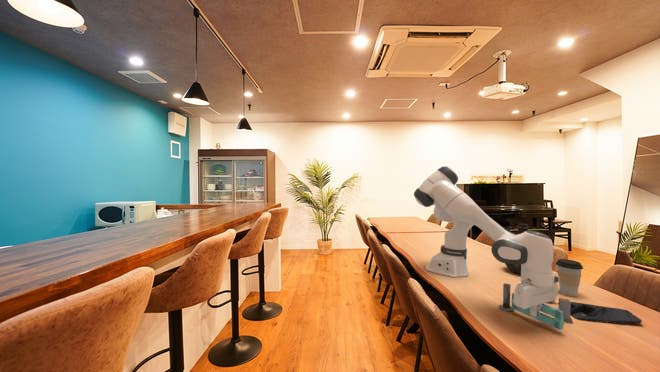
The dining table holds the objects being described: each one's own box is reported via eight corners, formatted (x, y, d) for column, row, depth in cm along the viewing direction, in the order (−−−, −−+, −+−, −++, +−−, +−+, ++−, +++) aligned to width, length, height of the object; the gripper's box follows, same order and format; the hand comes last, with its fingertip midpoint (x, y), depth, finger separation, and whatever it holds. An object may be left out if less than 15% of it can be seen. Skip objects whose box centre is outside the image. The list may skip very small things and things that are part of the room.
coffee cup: (587, 299, 115) (589, 265, 115) (563, 297, 117) (564, 264, 116) (572, 290, 124) (573, 259, 124) (550, 288, 126) (550, 257, 126)
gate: (511, 308, 103) (511, 293, 103) (514, 307, 104) (514, 292, 103) (560, 330, 88) (560, 312, 88) (563, 328, 89) (563, 311, 89)
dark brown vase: (540, 271, 150) (541, 223, 150) (545, 281, 135) (546, 227, 135) (503, 265, 160) (504, 220, 159) (503, 274, 145) (505, 224, 144)
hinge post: (498, 309, 105) (499, 285, 105) (499, 304, 109) (499, 281, 109) (514, 313, 102) (514, 288, 102) (513, 308, 106) (514, 283, 106)
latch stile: (557, 319, 98) (557, 300, 97) (555, 315, 101) (556, 296, 100) (572, 323, 95) (573, 303, 95) (570, 319, 98) (571, 299, 98)
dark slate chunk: (651, 331, 91) (651, 318, 91) (573, 320, 98) (573, 307, 98) (619, 311, 106) (619, 299, 106) (553, 302, 113) (553, 291, 113)
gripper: (528, 284, 86) (527, 326, 86) (562, 276, 94) (560, 314, 94) (508, 278, 92) (507, 316, 92) (542, 271, 100) (541, 306, 100)
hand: (534, 315), depth 93 cm, fingers closed
